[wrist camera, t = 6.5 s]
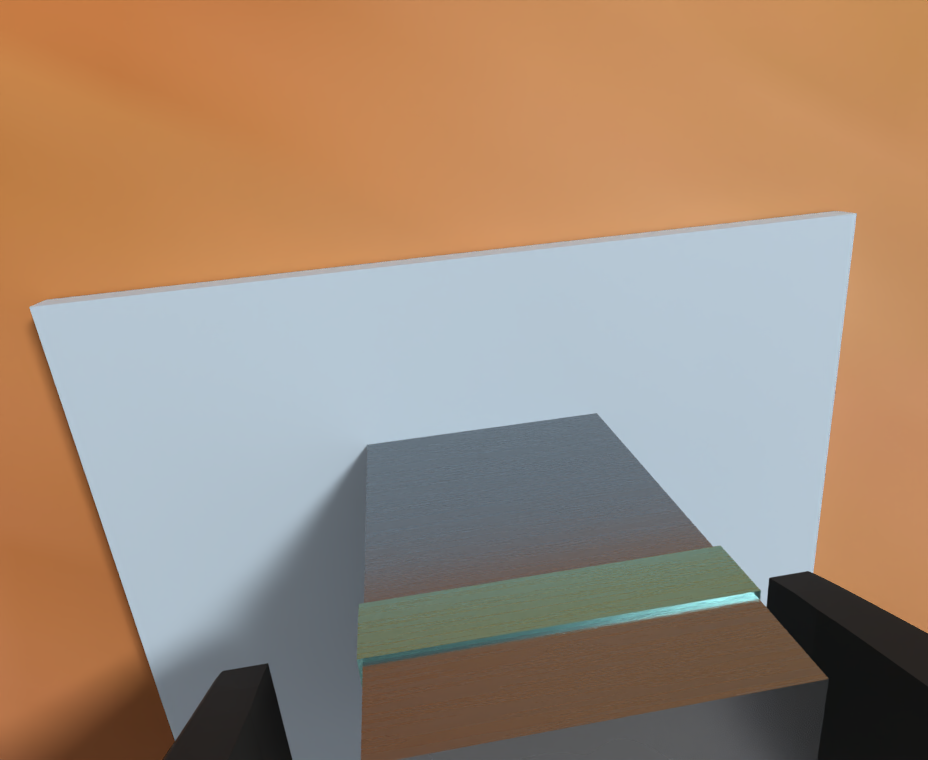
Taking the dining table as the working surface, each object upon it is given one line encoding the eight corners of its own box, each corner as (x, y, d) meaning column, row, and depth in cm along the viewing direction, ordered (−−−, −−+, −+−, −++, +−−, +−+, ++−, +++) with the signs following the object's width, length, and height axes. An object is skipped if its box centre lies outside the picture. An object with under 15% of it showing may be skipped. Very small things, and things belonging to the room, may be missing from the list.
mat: (836, 211, 11) (856, 213, 10) (782, 696, 15) (795, 714, 14) (45, 299, 10) (29, 306, 9) (210, 805, 13) (204, 828, 13)
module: (599, 409, 11) (834, 673, 5) (603, 679, 13) (775, 1071, 7) (364, 442, 11) (352, 762, 5) (406, 715, 13) (433, 1156, 7)
